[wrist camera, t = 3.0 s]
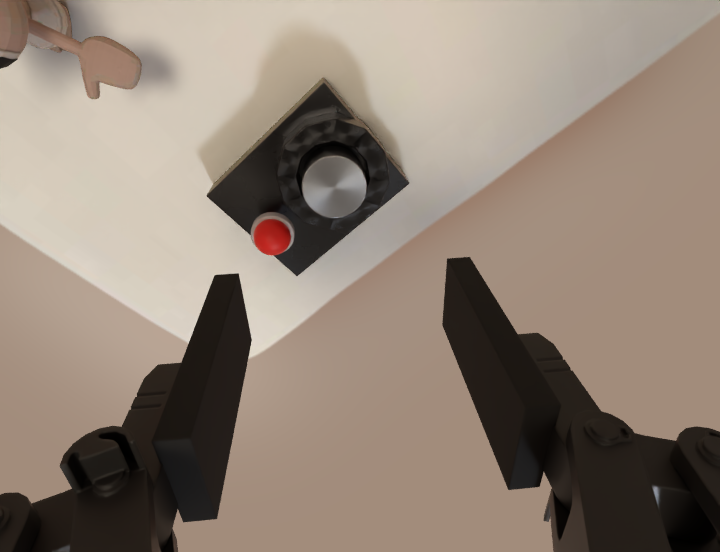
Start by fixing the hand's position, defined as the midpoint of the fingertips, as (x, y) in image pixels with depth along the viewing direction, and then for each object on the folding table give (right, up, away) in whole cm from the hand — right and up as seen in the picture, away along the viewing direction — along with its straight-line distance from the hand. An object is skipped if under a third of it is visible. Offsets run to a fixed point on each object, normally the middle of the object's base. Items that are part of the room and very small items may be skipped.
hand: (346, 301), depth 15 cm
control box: (-3, +7, +15) cm, 17 cm away
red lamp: (-5, +4, +13) cm, 14 cm away
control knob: (-1, +7, +11) cm, 13 cm away
